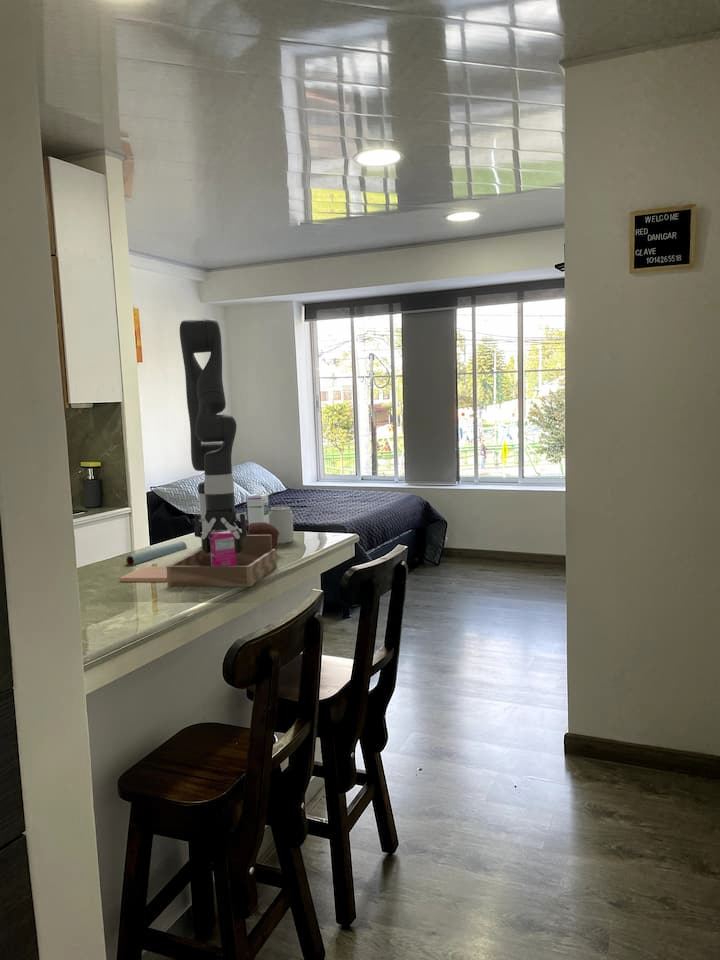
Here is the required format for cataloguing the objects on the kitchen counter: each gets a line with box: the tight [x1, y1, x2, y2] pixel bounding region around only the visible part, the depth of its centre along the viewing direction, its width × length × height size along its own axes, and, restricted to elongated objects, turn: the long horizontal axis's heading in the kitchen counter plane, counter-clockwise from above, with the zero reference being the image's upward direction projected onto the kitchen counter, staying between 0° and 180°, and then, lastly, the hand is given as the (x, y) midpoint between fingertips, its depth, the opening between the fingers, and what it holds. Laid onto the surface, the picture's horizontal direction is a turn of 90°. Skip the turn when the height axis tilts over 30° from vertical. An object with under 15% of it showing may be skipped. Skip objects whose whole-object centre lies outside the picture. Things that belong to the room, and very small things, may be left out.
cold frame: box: [166, 535, 278, 588], centre depth 196 cm, size 22×22×9 cm
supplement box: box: [209, 531, 237, 566], centre depth 196 cm, size 6×6×12 cm
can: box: [269, 506, 295, 544], centre depth 239 cm, size 8×8×12 cm
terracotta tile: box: [119, 566, 168, 583], centre depth 200 cm, size 13×13×1 cm
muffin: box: [248, 522, 280, 552], centre depth 220 cm, size 12×11×10 cm
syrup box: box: [246, 493, 270, 525], centre depth 254 cm, size 6×6×14 cm
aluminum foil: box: [125, 541, 188, 566], centre depth 225 cm, size 23×7×3 cm, turn 152°
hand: (223, 552), depth 196 cm, fingers open, 8 cm apart
